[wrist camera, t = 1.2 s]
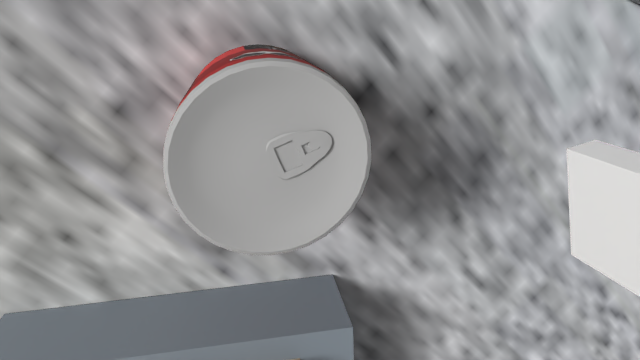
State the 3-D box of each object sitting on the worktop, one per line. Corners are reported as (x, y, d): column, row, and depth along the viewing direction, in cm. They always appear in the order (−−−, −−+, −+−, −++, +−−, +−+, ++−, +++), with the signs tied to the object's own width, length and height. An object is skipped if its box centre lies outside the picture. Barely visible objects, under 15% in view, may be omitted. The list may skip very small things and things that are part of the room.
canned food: (350, 119, 30) (410, 172, 20) (246, 202, 31) (254, 295, 21) (268, 12, 28) (289, 9, 18) (157, 104, 28) (113, 154, 18)
